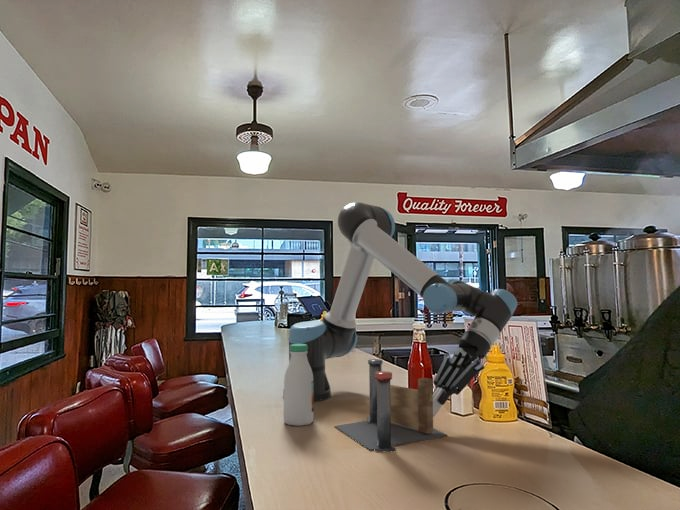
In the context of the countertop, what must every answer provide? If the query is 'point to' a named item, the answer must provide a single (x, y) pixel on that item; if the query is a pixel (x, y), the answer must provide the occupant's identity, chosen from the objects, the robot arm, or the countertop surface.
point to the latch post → (383, 412)
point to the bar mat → (399, 434)
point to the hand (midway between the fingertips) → (428, 412)
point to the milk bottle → (298, 388)
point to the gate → (413, 406)
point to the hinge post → (373, 388)
